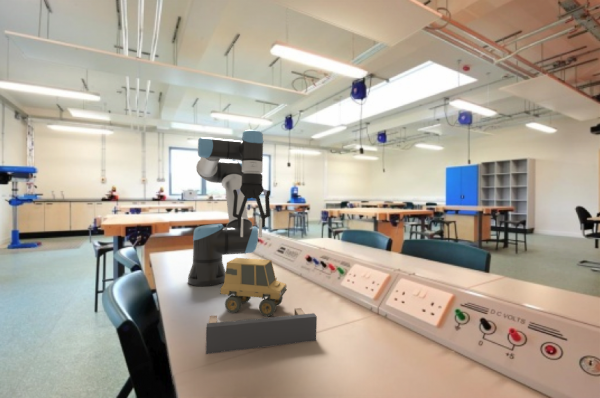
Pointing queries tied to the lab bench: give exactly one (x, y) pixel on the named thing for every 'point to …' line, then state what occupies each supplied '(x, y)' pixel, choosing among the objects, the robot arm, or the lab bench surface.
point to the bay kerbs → (297, 312)
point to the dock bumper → (260, 332)
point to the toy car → (252, 284)
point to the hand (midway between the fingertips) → (251, 236)
